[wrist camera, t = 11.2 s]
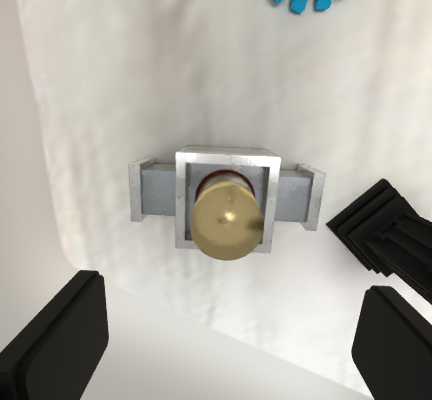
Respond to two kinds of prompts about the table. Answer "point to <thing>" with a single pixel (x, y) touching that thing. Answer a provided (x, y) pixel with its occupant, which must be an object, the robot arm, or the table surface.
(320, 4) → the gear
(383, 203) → the chess piece
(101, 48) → the table surface
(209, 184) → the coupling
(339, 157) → the table surface
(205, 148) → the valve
